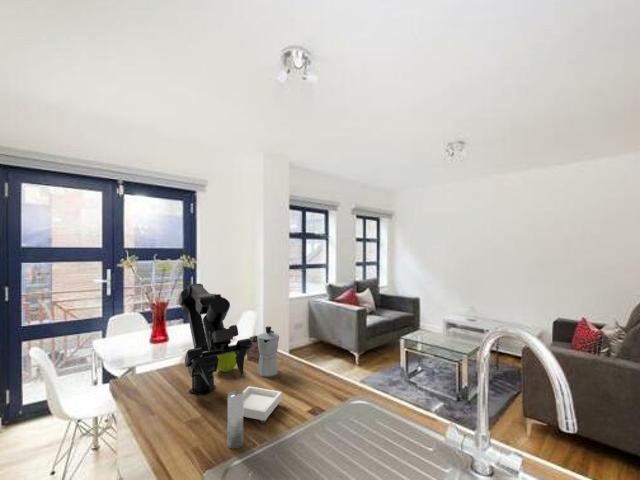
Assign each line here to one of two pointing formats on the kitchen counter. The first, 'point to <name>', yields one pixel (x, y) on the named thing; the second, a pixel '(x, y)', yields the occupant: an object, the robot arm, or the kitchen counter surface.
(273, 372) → the coffee maker
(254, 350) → the lighter
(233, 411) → the cylinder
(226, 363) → the fruit
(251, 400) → the white square tray
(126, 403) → the kitchen counter surface
